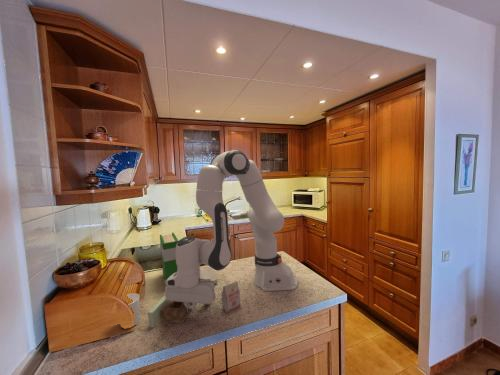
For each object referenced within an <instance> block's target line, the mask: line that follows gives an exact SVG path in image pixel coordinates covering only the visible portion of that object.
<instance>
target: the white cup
mask: <svg viewBox="0 0 500 375" xmlns="http://www.w3.org/2000/svg"><path fill="white" fill-rule="evenodd" d="M126 295H127V296H128V297H129V298H130V299H132V300H133V302H132V303H130V304H128V305H129V306H130V307H131V308H132V310H133V312H134V316H135V325H136V326H138V324H139V323H140V322H139V321H141V302H140V300H141V299H140V294H139V293H136V292H135V293H129V294H126Z"/></svg>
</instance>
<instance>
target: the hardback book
mask: <svg viewBox="0 0 500 375" xmlns="http://www.w3.org/2000/svg"><path fill="white" fill-rule="evenodd" d="M159 241H160V242H159V243H160V244H159V245H160V253H161V254H160V255H161V269H162V277H163V281H164V286H165V287H166V286H167V285H166V283H165V281H166V280H167V279H168V278H169V277H170V276H171V275H172V274H174V273H176V272H177V269H178V268H177V264H176V245H177V242H178V241H179V239H178V237H177V236H176V235H175V233H174V232H171V234H165V235H162V234H159Z"/></svg>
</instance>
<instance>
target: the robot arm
mask: <svg viewBox="0 0 500 375" xmlns="http://www.w3.org/2000/svg"><path fill="white" fill-rule="evenodd" d="M261 174H262V173H261V172H260V169H259V168H258V166H257V164H256V162H255V161H254V160H252V159H249V158H248V157H247V155H246V154H245V153H244V152H243V151H240V150H236V149H231V150H228V151H224V152H222V153H220V154H218V155H216V156H215V157H214V158H212V160H211V162H210V163H209V164H205V165H203V166H201V167H200V169H199V173H198V175H197V176H198V177H197V181H196V191H195V200H196V205H197V207H198V208H199V209H200V210H201V211H202V212H204V213H205V214H206V215H207V216H208V217H209V218H210V219H211V222H212V227H213V228H212V229H213V240H209V239H206V238H205V239H204V238H203V239H200V238H197V237H196V236H194V235H190V236H183V237H182V238H181V239H178V242H177V245H176V264H177V268H178V269H177V272H176V273H174V274H172V275H171V276H170V277H169V278H168V279H167V280H166V281H165V282H164V284H165V283H166V285H167V286H165V287H164V296H165V298H166V300H167V301H176V302H184V305H185V307H186V308H187V312H190V313H195V312H196V309H197V308H196V306H197V304H203V305H204V304H210V305H212V304H213V303H214V301H215V299H216V292H215V285H214V282H213V281H211V280H210V279H201V278H200V270H201V267H200V266H201V265H205V266H207V267H209V268H213V270H214V271H222V270H224V269H226V267H227V266H228V265H229V264H230V263H231V261H232V256H233V255H232V254H233V253H232V249H231V244H230V236H229V217H228V210H227V208H226V206H225V203H224V198H223V185H224V180H225V178H226V177H233V176H235V177H236V178H237V179H238V181H239V184H240V187H241V190H242V192H243V195H244V198H245V201H246V203H248V204H249V206H250V208H249V209H248V210H247V217H248V220H249V222H250V226H251V227H250V228H251V231H252V234H253V239H254V251H255V252H254V253H255V254H254V266H255V269H254V270H255V273H254V277H253V284H254V285H255V286H256V287H258V288H259V289H261V290H262V291H263V292H278V291H279V292H281V291H293V290H294V291H295V290H296V289H297V288H298V285H299V282H298V277H297V275H295V274H294V273H293V270H292V268H291V266H289V265H288V264H286V263H285V262H284V261H283V258H282V255H281V253H278V247H277V246H278V245H277V242H278V241H277V238H276V236H275V234H274V232H279V231H281V229H282V228H283V226H284V225H285V217H284V215H283V213H282V212H281V211H280V210H279V209H278V208H277V206H276V204H275V202H274V201H273V199H272V198H271V196H270V195H269V192H268V190H267V187H266V185H265V182H264V178H263V176H262V175H261ZM210 281H211V282H210ZM189 302H190V303H192V305H193V306H190V304H189Z"/></svg>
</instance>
